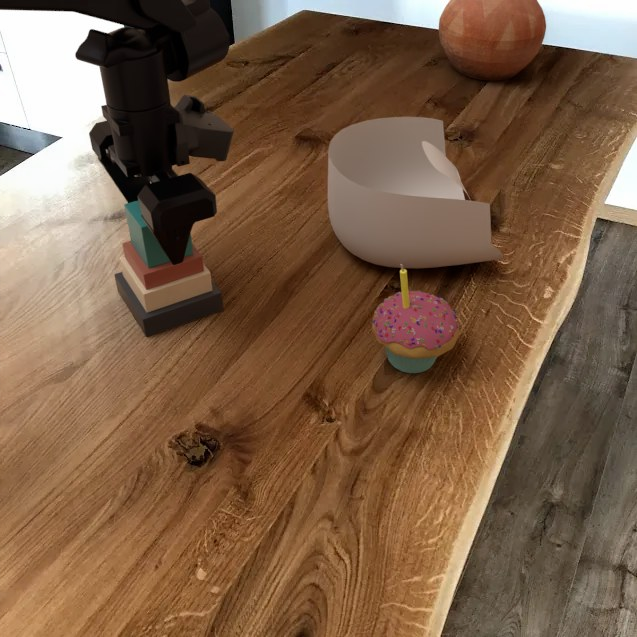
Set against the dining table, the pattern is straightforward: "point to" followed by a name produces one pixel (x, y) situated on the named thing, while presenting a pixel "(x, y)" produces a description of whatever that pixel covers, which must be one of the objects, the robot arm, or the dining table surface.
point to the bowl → (403, 197)
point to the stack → (166, 291)
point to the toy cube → (146, 238)
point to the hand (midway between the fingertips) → (160, 240)
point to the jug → (491, 36)
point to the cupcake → (414, 328)
